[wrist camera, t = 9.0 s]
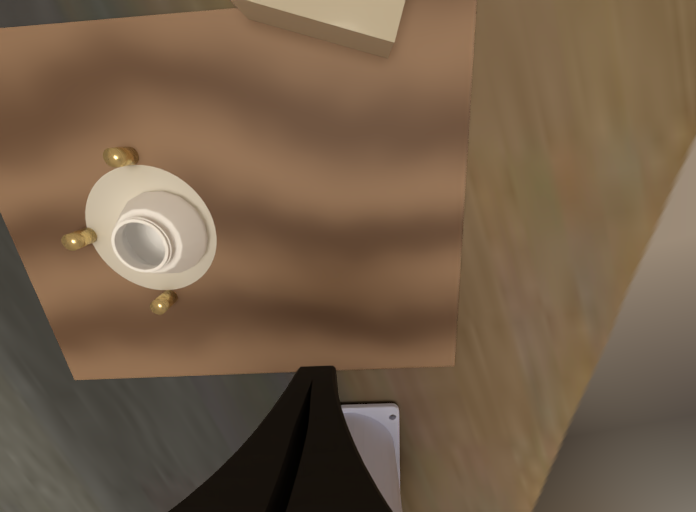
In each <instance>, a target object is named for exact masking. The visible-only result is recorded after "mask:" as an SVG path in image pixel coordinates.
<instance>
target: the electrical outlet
mask: <svg viewBox="0 0 696 512" xmlns="http://www.w3.org/2000/svg"><path fill="white" fill-rule="evenodd" d="M230 1H231V2H232V3H233V4H234V5H235V6H236V7H237V8H238V9H239V10H240V11H241V12H242V13H243V14H244V15H245V16H246V18H247V19H249V20H253V21H257V22H260V23H264V24H267V25H271V26H274V27H278V28H281V29H285V30H288V31H292V32H295V33H299V34H303V35H306V36H310V37H313V38H317V39H320V40H324V41H327V42H331V43H334V44H338V45H341V46H345V47H348V48H352V49H356V50H359V51H363V52H366V53H370V54H373V55H377V56H380V57H384V58H387V59H388V57H389V54H390V52H391V50H392V47H393V45H394V42H395V39H396V35H397V31H398V27H399V23H400V19H401V15H402V11H403V7H404V3H405V0H230Z"/></svg>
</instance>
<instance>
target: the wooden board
mask: <svg viewBox="0 0 696 512" xmlns="http://www.w3.org/2000/svg"><path fill="white" fill-rule="evenodd" d="M476 4H477V0H405V3H404V7H403V11H402V15H401V19H400V23H399V27H398V31H397V35H396V39H395V42H394V45H393V47H392V50H391V52H390V54H389V57H388V59H387V58H384V57H380V56H377V55H373V54H370V53H366V52H363V51H359V50H356V49H352V48H348V47H345V46H341V45H338V44H334V43H331V42H327V41H324V40H320V39H317V38H313V37H310V36H306V35H303V34H299V33H295V32H292V31H288V30H285V29H281V28H278V27H274V26H271V25H267V24H264V23H260V22H257V21H253V20H249V19H247V18H246V16H245V15H244V14H243V13H242V12H241V11H240V10H239V9H238V8H231V9H219V10H208V11H196V12H184V13H173V14H161V15H149V16H138V17H126V18H115V19H103V20H91V21H80V22H68V23H56V24H45V25H33V26H21V27H10V28H0V212H1V214H2V217H3V219H4V221H5V223H6V226H7V228H8V230H9V232H10V235H11V237H12V239H13V241H14V244H15V246H16V248H17V251H18V253H19V255H20V257H21V260H22V262H23V264H24V266H25V269H26V271H27V273H28V275H29V278H30V280H31V282H32V284H33V287H34V289H35V291H36V293H37V296H38V298H39V300H40V303H41V305H42V307H43V309H44V312H45V314H46V316H47V318H48V321H49V323H50V325H51V327H52V330H53V332H54V334H55V336H56V339H57V341H58V343H59V345H60V348H61V350H62V352H63V355H64V357H65V359H66V361H67V364H68V366H69V368H70V370H71V373H72V375H73V377H74V379H75V380H88V379H115V378H142V377H169V376H197V375H224V374H251V373H278V372H297V370H298V369H299V368H300V367H303V366H330V365H333V366H334V367H335V368H336V370H360V369H387V368H414V367H441V366H455V349H456V333H457V316H458V300H459V284H460V267H461V251H462V234H463V218H464V201H465V185H466V169H467V152H468V136H469V119H470V103H471V86H472V70H473V54H474V37H475V21H476ZM153 191H164V192H167V193H171V194H174V195H177V196H180V197H181V198H182V199H184V200H185V201H186V202H188V203H189V204H190V205H192V206H193V207H194V208H195V209H196V211H197V212H198V214H199V215H200V217H201V218H202V220H203V221H204V224H205V228H206V233H207V237H208V240H207V245H206V251H205V254H204V255H203V256H202V258H201V259H200V260H199V262H198V263H197V264H196V265H195V266H193V267H191V268H190V269H188V270H186V271H184V272H182V273H169V274H161V273H150V272H148V273H145V272H139V271H135V270H133V269H131V268H129V267H127V266H126V265H125V264H123V263H122V262H121V261H120V260H119V259H118V257H117V256H116V254H115V252H114V250H113V248H112V243H111V236H112V232H113V229H114V227H115V224H116V222H117V220H118V218H119V215H120V213H121V212H122V210H123V208H124V207H125V205H126V204H127V202H128V201H129V200H131V199H132V198H134V197H136V196H138V195H139V194H141V193H144V192H153Z"/></svg>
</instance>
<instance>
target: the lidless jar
mask: <svg viewBox="0 0 696 512" xmlns="http://www.w3.org/2000/svg"><path fill="white" fill-rule="evenodd" d="M207 240H208V237H207V233H206V228H205V224H204V221H203V220H202V218H201V217H200V215H199V214H198V212H197V211H196V209H195V208H194V207H193V206H192V205H190V204H189V203H188V202H186V201H185V200H184V199H182V198H181V197H180V196H177V195H174V194H171V193H167V192H164V191H153V192H144V193H141V194H139V195H138V196H136V197H134V198H132V199H131V200H129V201H128V202H127V204H126V205H125V207H124V208H123V210H122V212H121V213H120V215H119V218H118V220H117V222H116V224H115V227H114V229H113V232H112V236H111V243H112V248H113V250H114V252H115V254H116V256H117V257H118V259H119V260H120V261H121V262H122V263H123V264H125V265H126V266H127V267H129V268H131V269H133V270H135V271H139V272H145V273H148V272H150V273H161V274H169V273H182V272H184V271H186V270H188V269H190V268H191V267H193V266H195V265H196V264H197V263H198V262H199V260H200V259H201V258H202V256H203V255H204V254H205V251H206V245H207Z"/></svg>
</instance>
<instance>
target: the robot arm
mask: <svg viewBox="0 0 696 512" xmlns="http://www.w3.org/2000/svg"><path fill="white" fill-rule="evenodd" d="M390 415H393V416H390ZM169 512H402V504H401V496H400V440H399V408H398V406H397V405H396V404H394V403H384V404H353V405H341V404H340V400H339V397H338V387H337V376H336V368H335V367H334V366H333V365H330V366H303V367H300V368H299V369H298V370H297V372H296V374H295V375H294V377H293V379H292V380H291V382H290V383H289V385H288V387H287V388H286V390H285V391H284V393H283V394H282V396H281V397H280V398H279V400H278V401H277V403H276V404H275V406H274V407H273V408H272V410H271V411H270V412H269V414H268V415H267V416H266V418H265V419H264V420H263V421H262V423H261V424H260V425H259V426H258V428H257V429H256V430H255V431H254V433H253V434H252V435H251V436H250V437H249V438H248V440H247V441H246V442H245V443H244V444H243V445H242V446H241V447H240V448H239V449H238V451H237V452H236V453H235V454H234V455H233V456H232V457H231V458H230V459H229V460H228V461H227V462H226V463H225V464H224V465H223V466H222V467H221V468H220V469H219V470H217V471H216V472H215V473H214V474H213V475H212V476H211V477H210V478H209V479H208V480H207V481H205V482H204V483H203V484H202V485H201V486H200V487H198V488H197V489H196V490H195V491H194V492H193V493H191V494H190V495H189V496H188V497H187V498H185V499H184V500H183V501H182V502H180V503H179V504H178V505H177V506H175V507H174V508H173V509H171V510H170V511H169Z"/></svg>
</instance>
